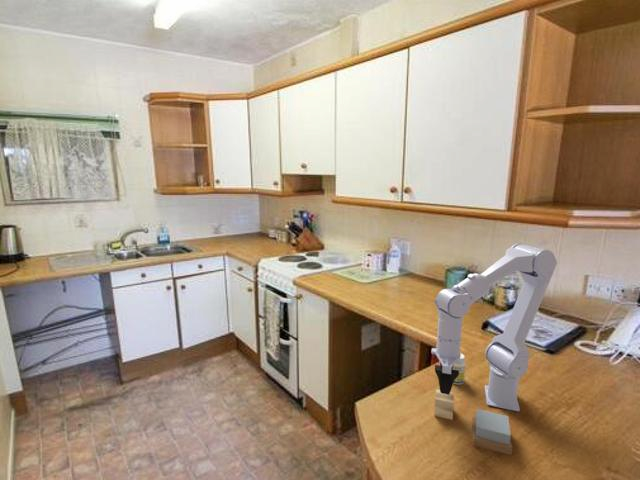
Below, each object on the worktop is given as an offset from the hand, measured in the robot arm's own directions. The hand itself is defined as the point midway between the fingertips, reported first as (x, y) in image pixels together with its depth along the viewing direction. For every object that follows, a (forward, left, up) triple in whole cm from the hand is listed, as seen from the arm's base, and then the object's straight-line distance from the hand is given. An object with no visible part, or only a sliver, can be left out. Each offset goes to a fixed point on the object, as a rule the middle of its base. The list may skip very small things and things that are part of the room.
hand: (445, 384), depth 95 cm
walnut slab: (+6, +11, -9) cm, 15 cm away
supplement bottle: (-17, +3, -8) cm, 19 cm away
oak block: (0, 0, -8) cm, 8 cm away
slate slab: (+6, +11, -6) cm, 14 cm away
